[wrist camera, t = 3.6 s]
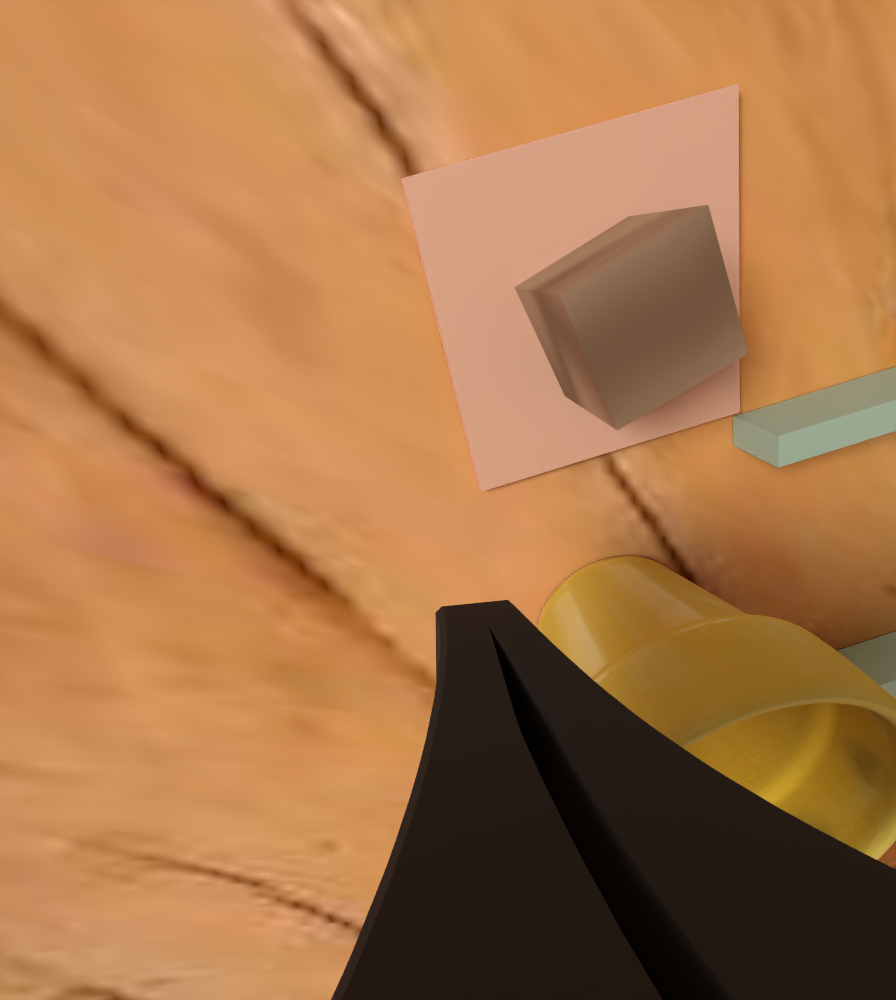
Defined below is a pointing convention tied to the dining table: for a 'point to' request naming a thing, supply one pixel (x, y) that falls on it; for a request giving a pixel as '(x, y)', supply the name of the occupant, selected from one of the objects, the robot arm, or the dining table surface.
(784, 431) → the frame
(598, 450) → the terracotta mat
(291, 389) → the dining table surface
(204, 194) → the dining table surface
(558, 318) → the walnut block
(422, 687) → the dining table surface
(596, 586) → the plant pot
